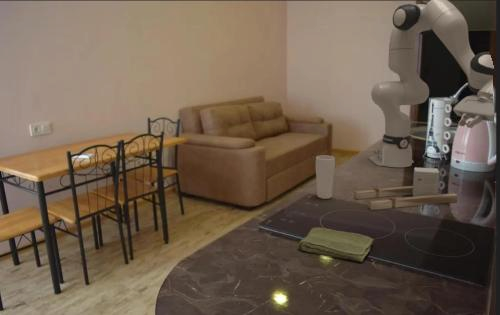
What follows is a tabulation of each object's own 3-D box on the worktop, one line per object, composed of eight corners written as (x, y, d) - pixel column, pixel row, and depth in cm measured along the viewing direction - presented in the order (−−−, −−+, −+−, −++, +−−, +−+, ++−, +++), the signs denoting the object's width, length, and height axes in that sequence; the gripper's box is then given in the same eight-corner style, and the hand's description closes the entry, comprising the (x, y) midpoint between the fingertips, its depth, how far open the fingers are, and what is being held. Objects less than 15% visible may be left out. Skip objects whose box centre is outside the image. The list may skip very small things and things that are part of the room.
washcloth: (364, 266, 97) (365, 254, 96) (296, 252, 105) (296, 241, 104) (374, 244, 108) (375, 233, 108) (312, 233, 116) (312, 223, 116)
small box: (435, 196, 144) (438, 168, 142) (437, 201, 139) (440, 172, 136) (412, 194, 147) (414, 166, 144) (412, 199, 141) (414, 170, 139)
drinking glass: (333, 200, 142) (335, 159, 139) (314, 199, 144) (315, 159, 140) (333, 194, 149) (334, 155, 145) (315, 193, 150) (316, 155, 146)
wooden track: (354, 197, 145) (354, 189, 144) (432, 190, 150) (433, 182, 150) (371, 210, 132) (371, 201, 131) (456, 201, 138) (457, 192, 137)
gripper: (465, 88, 148) (440, 116, 148) (510, 92, 128) (481, 123, 129) (474, 100, 150) (449, 127, 150) (520, 105, 130) (491, 136, 131)
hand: (464, 125), depth 139 cm, fingers open, 3 cm apart
